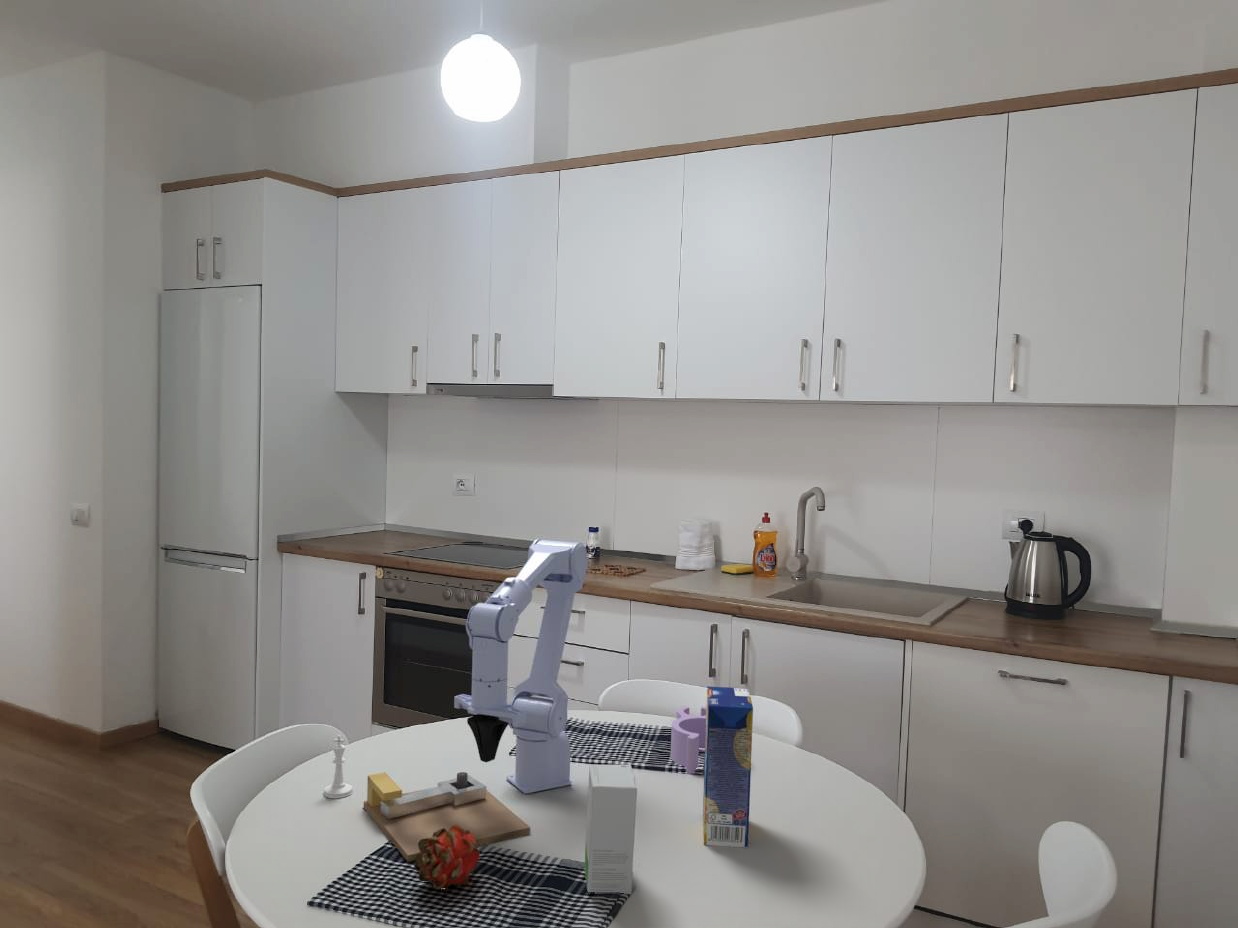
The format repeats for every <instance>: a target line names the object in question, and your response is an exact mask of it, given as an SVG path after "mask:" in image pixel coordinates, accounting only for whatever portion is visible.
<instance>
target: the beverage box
mask: <svg viewBox="0 0 1238 928" xmlns="http://www.w3.org/2000/svg"><path fill="white" fill-rule="evenodd" d="M706 707H707V709H706V738H705V751H704V766H703V768H704V769H703V771H704V773H703V795H702V796H703V803H702V829H703V830H702V832H703V845H704V846H717V847H718V846H719V847H729V848H731V847H733V848H746V849H747V848H749V833H750V832H749V830H750V827H749V826H750V805H751V803H750V801H751V776H752V774H751V773H752V771H751V769H752V749H753V748H752V745H753V723H754V721H753V719H754V718H753V716H754V713H753V712H754V706H753V702H752V697H751V693H750V689H749V687H748V688H746V687H745V688H744V687H730V686H729V687H728V686H727V687H726V686H710V685H709V686H706Z"/></svg>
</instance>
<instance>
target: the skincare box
mask: <svg viewBox="0 0 1238 928" xmlns="http://www.w3.org/2000/svg"><path fill="white" fill-rule="evenodd" d="M588 771H589V772H588V788H587V789H588V792H587V793H588V794H587V809H586V810H587V812H586V815H587V816H586V834H585V847H584V848H585V849H584V850H585V851H584V873H585V874H584V876H585V875H586V876H585V880H586V882H587V884H586V890H587V891H588V892H595V893H596V892H620V893H624V894H623V895H631V894H632V887H633V882H632V881H633V868H634V867H633V866H634V865H633V864H634V849H635V829H636V813H637V801H638V800H637V798H638V797H637V796H638V787H637V783H636V774H635V773H634V771H633V767H632V765H631V764H589V769H588ZM586 882H585V883H586ZM587 891H586V892H587Z"/></svg>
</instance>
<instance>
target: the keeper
mask: <svg viewBox="0 0 1238 928" xmlns="http://www.w3.org/2000/svg"><path fill="white" fill-rule="evenodd" d="M366 790H367V791H366V792H367V793H366V794H367V795H366V799H367V800H366V801H367V802H368V803H369V804H370V805H371V807H372V806H378V805H381V801H382V800H383V801H386V800H391V799H396V798H401V797H402V794H403V790H402V788H401V787H400V786H399V785H398V784H397V783H396V782H395V781H394V780H393V779H392V778H391V777H390V776H389V774H388V773H387V772H381V773H379V772H378V773H375V774H369V775H367V789H366Z"/></svg>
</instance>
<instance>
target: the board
mask: <svg viewBox="0 0 1238 928" xmlns="http://www.w3.org/2000/svg"><path fill="white" fill-rule="evenodd" d="M468 775H469V774H468V772H464V771H461V772H460V771H459V772H457V774H456V778H457V789H458V790H459V789H463V788H467V780H468ZM426 789H427V788H426ZM426 789H425V788H424V790H426ZM422 790H423V789H421V790H416V791H412V792H411V791H410V792H405V793H402V795H406V794H410V793H414V792H418V791H422ZM363 808H364V810H365V811H366V812H367V813H368V815H369V816H370V817H371V819H372V820H373V821H374V822H375V823H376V824H377V826H378V827H379V828H380V829H381V831H382V832H383V833H384V835H385V836H386V837H387V838H388V839H389V841H390V842H391V843H392V844H393V846H395V848H396V849H397V851H398V852H399V853H400V855H402V856H403V858H404V859H405V860H406V862H407V863H409V862H416V856H417V855H418V854H419V852H420V850H419V846H418V842H419V841H420V840H421V839H426V838H431V837H432V836H433V833H434V832H436V831H438V830H440V829H443V828H445V829H447V831H448V830H449V829H450V827H452V826H453V825H459V826H460V827H462V828H463V829H464V830H467V829H468V830H469V831H470V832H472V833H473V835H474V837H475V841H476V844H475V845H476V846H477V847H478V846H479V847H480V846H482V845H487V844H490V843H491V844H492V843H496V842H499V841H505V840H508V839H513V838H517V837H518V838H519V837H520V836H525V835H530V834H531V826H529V825H528V824H527V823H526V822H525V821H524V820H523V819H522V818H520V817H519V816H517V815H516V814H515V812H513V811H512V810H511V809H510V808H509V807H507V806H506V805H505V804H504V803H503V802H502V801H500V800H499V799H498V798H497V797H495V796H494V794H492V793H491V792H489V791H488V789H486V798H484V799H480V800H476V801H473V802H469V803H465V804H461V805H457V806H454V805H452V804H451V803H449V804H445V805H441V806H438V807H434V808H430V809H426V810H422V811H419V812H415V813H411V814H407V815H403V816H399V817H396V818H392V819H388V818H386V817H385V816H384V815H383V814H382V813H381V805H378V806H372V807H371V805H370V804H369V803H368V802H367V800H365V801H363Z"/></svg>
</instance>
